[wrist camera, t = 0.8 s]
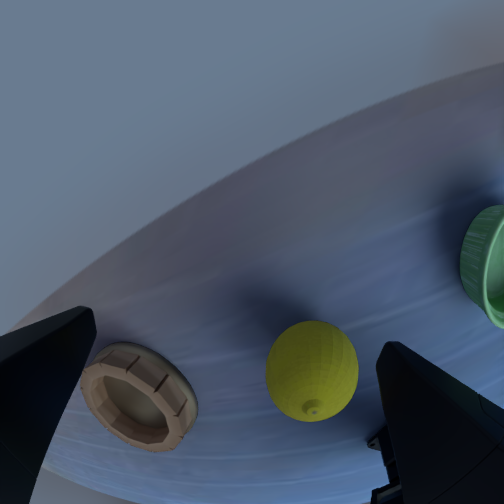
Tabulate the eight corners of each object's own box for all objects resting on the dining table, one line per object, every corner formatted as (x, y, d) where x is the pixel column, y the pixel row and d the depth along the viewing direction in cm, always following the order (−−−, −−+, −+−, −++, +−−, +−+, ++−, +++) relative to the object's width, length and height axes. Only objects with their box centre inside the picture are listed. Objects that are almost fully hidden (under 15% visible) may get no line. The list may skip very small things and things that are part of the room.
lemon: (303, 380, 20) (301, 457, 12) (256, 333, 20) (233, 404, 12) (362, 340, 19) (389, 411, 11) (316, 286, 19) (328, 345, 11)
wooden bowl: (218, 389, 22) (206, 415, 18) (175, 446, 24) (164, 467, 21) (109, 318, 22) (86, 334, 19) (90, 389, 25) (73, 405, 21)
